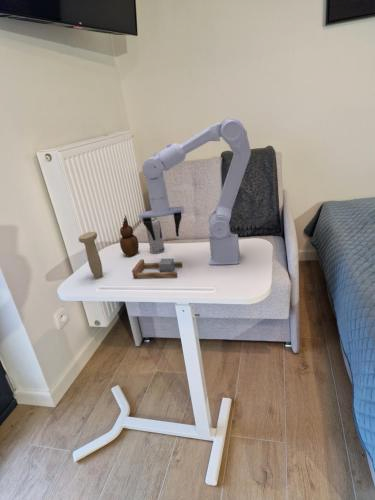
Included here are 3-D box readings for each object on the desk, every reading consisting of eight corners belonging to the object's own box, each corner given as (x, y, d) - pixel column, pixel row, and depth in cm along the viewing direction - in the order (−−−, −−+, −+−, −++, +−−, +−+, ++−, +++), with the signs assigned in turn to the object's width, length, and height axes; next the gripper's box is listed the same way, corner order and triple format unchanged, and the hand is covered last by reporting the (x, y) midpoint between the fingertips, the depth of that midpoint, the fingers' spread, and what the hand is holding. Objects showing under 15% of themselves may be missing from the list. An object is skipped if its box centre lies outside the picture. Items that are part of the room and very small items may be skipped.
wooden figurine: (132, 249, 129) (124, 213, 124) (142, 251, 126) (135, 214, 120) (119, 256, 124) (111, 219, 119) (130, 258, 121) (122, 220, 115)
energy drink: (165, 247, 127) (160, 218, 122) (163, 253, 122) (157, 222, 117) (152, 248, 127) (146, 219, 123) (149, 254, 123) (143, 224, 118)
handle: (87, 280, 108) (75, 239, 103) (97, 272, 114) (86, 231, 108) (99, 281, 107) (88, 238, 101) (109, 272, 112) (99, 231, 107)
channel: (182, 266, 109) (181, 257, 108) (176, 277, 102) (175, 269, 101) (142, 267, 112) (140, 259, 111) (133, 278, 105) (131, 270, 104)
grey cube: (175, 269, 108) (173, 258, 106) (172, 275, 104) (170, 263, 103) (163, 269, 109) (161, 258, 107) (160, 275, 105) (158, 264, 104)
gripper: (180, 190, 106) (186, 229, 111) (136, 197, 105) (144, 236, 111) (182, 195, 99) (188, 236, 104) (134, 203, 99) (143, 244, 104)
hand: (165, 237), depth 107 cm, fingers open, 7 cm apart
